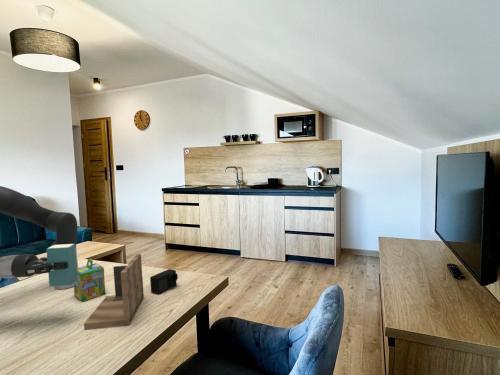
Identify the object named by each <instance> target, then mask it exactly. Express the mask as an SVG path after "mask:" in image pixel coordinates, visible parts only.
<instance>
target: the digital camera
mask: <svg viewBox="0 0 500 375" xmlns="http://www.w3.org/2000/svg"><path fill="white" fill-rule="evenodd" d="M178 278H179V276H178V273H177V270H175V269H171V268H168V269H166V270H164V271H161V272H158V273H156V274H154V275H152V276H149V279H150V280H149V281H150V293H151V294H153V295H157V296H159V295H161V294H163V293H165V292H167V291H169V290H171V289H173V288H175V287H177V280H178Z"/></svg>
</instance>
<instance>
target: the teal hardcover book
mask: <svg viewBox="0 0 500 375" xmlns="http://www.w3.org/2000/svg"><path fill="white" fill-rule="evenodd" d="M76 249H77V248H76ZM76 249H75V244H63V245H53V246H49V247H47V248H46V249H45V251H46V257H47V262H49V263H58V262H67V263H68V268H67V269H57V270H54V271H50V272H49V273H47V274H48V285H49V287H55V286H64V285H72V284H73V283H75V282H76V281H77V280H78V275H77V262H76Z"/></svg>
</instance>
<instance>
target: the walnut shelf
mask: <svg viewBox="0 0 500 375" xmlns="http://www.w3.org/2000/svg"><path fill="white" fill-rule="evenodd" d="M142 266H143V265H142V254H141V253H136V255H135V256H134V257H133V258H132V259H131V261H129V263H128V264H127V265H115V266H113V281H114V293H115V294H114V295H106V296H105V297H104V299H103V300H101V302H100V303H99V304H98V306H97V307H96V308H95V309H94V310H93V312H92V313H91V314H90V315H89V317H88V318H87V319H86V320H85V322H84V323H83V329H84V330H94V329H95V330H96V329H104V328H113V327H114V328H115V327H123V326H124V327H125V326H130V325H131V323H132V321H133V319H134V317H135V315H136V313H137V311H138V310H139V308H140V306H141V304H142V302H143V300H144V297H145V296H144V281H143V280H144V279H143V267H142Z"/></svg>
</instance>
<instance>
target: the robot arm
mask: <svg viewBox="0 0 500 375" xmlns="http://www.w3.org/2000/svg"><path fill="white" fill-rule="evenodd" d="M0 213H1V214H4V215H6V216H10V217H12V218H16V219H20V220H22V221H26V222H30V223H33V224H35V225H37V226H38V227H39V226H40V227H42V228H44V229H46V230H47V231H49V232H51V233H55V234H56V238H55V241H53V242H52V243H51V246H53V245H63V244H75V249H76V262H77V268H79V262H78V254H77V253H78V251H77V241H78V220H77V218H76V216H75V215H74V214H73V213H72V212H65V211H64V212H62V211H61V212H60V211H54V210H51V209H49V208H46V207H43V206H42V205H39V204H38V203H37V202H36V201H35V200H33V198H31V197H30V196H27V195H26V194H23V193H21V192H19V191H17V190H14V189H12V188H8V187H5V186H1V185H0ZM51 246H50V247H51ZM67 268H68V263H67V262H58V263H49V262H47V256H46V257H45V256H44V257H39V258H38V256H37V255H35V253H34V254H33V253H29V254H12V255H5V256H0V279H15V278H16V279H17V278H30V277H33V276H35V275H42V274H48V273H49V272H50V271H54V270H57V269H67ZM54 288H55V289H57V290H65V289H70V288H74V283H73V284H72V285H64V286H54Z"/></svg>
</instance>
